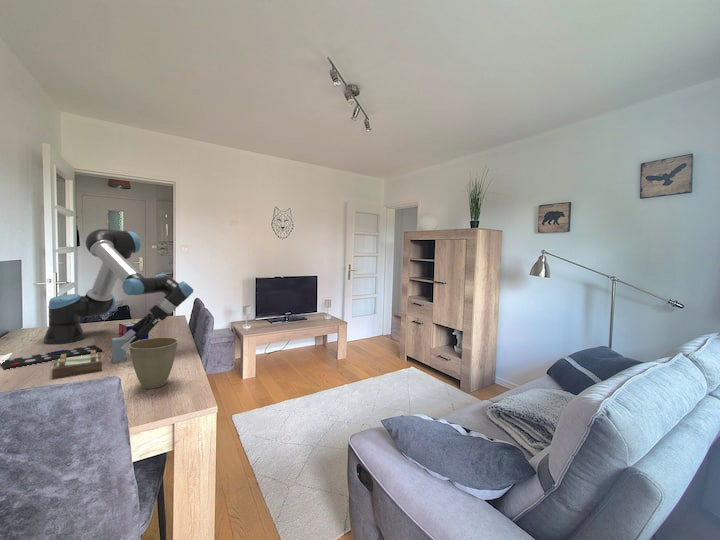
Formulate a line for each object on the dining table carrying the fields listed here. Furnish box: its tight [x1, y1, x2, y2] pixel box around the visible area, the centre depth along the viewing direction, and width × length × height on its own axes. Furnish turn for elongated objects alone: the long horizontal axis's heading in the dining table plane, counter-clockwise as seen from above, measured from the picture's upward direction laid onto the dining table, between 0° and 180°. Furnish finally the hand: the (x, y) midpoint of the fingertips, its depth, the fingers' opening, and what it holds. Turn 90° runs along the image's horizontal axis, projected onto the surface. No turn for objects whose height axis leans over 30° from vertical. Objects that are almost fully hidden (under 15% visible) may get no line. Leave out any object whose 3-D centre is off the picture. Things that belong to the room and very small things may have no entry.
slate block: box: [111, 336, 127, 364], centre depth 133 cm, size 4×4×10 cm
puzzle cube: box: [118, 320, 150, 343], centre depth 160 cm, size 10×10×10 cm
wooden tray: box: [52, 350, 103, 380], centre depth 122 cm, size 13×14×6 cm
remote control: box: [1, 344, 104, 371], centre depth 134 cm, size 11×30×2 cm, turn 146°
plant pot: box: [129, 336, 179, 390], centre depth 112 cm, size 15×15×16 cm
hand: (122, 345), depth 133 cm, fingers open, 13 cm apart
